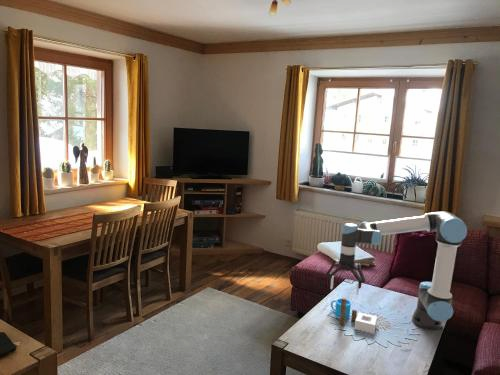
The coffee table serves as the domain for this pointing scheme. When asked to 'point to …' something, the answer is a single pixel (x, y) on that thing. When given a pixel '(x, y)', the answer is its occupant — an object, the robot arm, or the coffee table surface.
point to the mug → (338, 308)
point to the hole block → (366, 322)
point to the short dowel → (354, 315)
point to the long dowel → (342, 311)
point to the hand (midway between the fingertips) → (344, 291)
